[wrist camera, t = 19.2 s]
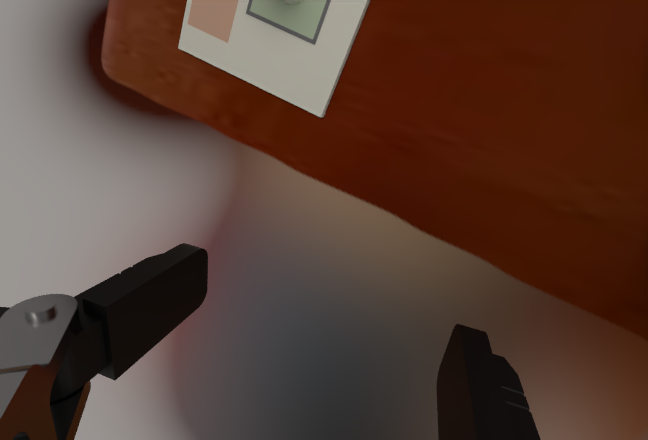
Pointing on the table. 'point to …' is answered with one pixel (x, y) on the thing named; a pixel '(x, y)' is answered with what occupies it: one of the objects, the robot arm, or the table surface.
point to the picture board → (276, 43)
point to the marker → (293, 1)
